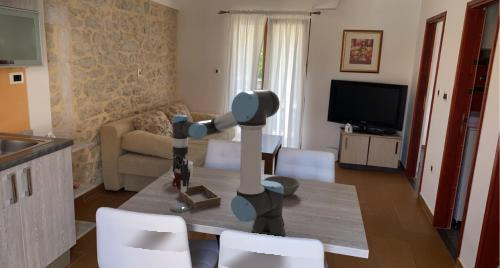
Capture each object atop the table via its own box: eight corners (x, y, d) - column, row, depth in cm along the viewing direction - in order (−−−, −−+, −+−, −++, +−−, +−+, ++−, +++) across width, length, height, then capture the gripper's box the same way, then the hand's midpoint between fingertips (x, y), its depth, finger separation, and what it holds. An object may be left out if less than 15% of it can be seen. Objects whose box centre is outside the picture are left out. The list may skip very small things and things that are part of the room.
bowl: (279, 204, 195) (280, 190, 193) (254, 192, 210) (255, 179, 208) (305, 196, 208) (306, 183, 206) (280, 185, 223) (281, 173, 222)
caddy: (220, 204, 192) (220, 197, 191) (194, 209, 183) (194, 202, 183) (203, 190, 209) (203, 184, 208) (178, 195, 201) (178, 188, 200)
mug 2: (180, 195, 177) (181, 176, 174) (167, 191, 180) (167, 172, 177) (192, 187, 186) (193, 169, 183) (180, 183, 189) (180, 166, 186)
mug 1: (165, 183, 219) (165, 162, 216) (175, 178, 229) (175, 158, 226) (187, 187, 214) (187, 166, 211) (195, 181, 224) (196, 161, 221)
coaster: (193, 209, 183) (193, 208, 183) (174, 213, 178) (174, 212, 178) (185, 202, 192) (185, 201, 191) (167, 206, 186) (167, 205, 186)
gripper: (196, 150, 171) (195, 194, 176) (179, 140, 188) (179, 181, 193) (181, 151, 167) (181, 197, 172) (165, 141, 184) (166, 183, 189)
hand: (180, 188), depth 183 cm, fingers closed on mug 2, 8 cm apart
